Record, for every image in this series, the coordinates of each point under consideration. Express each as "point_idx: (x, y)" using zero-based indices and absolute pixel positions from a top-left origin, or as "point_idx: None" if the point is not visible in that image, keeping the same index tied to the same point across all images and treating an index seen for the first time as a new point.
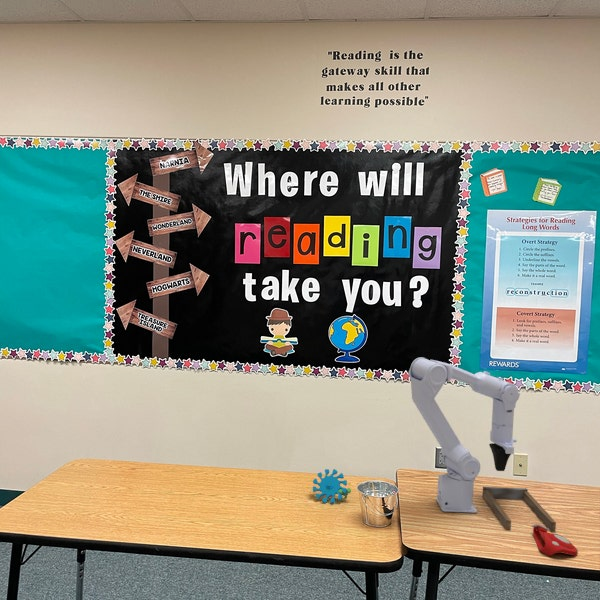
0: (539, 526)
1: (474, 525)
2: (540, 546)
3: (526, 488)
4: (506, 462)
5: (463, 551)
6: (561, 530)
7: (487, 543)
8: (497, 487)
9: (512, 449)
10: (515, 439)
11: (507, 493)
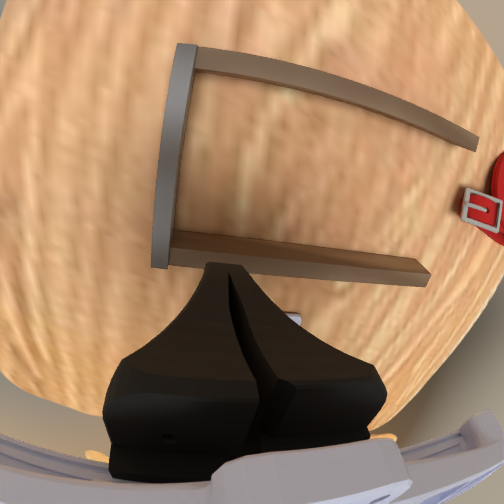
0: (493, 224)
1: (362, 337)
2: (494, 234)
3: (178, 43)
4: (272, 304)
5: (430, 371)
6: (454, 103)
7: (433, 330)
8: (158, 201)
9: (499, 444)
10: (377, 498)
11: (180, 148)
